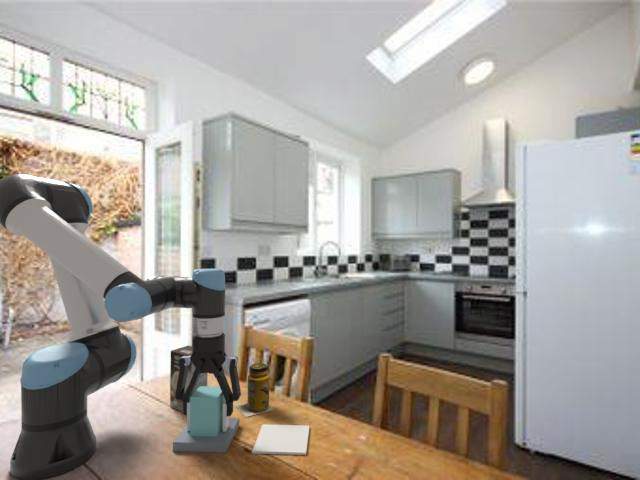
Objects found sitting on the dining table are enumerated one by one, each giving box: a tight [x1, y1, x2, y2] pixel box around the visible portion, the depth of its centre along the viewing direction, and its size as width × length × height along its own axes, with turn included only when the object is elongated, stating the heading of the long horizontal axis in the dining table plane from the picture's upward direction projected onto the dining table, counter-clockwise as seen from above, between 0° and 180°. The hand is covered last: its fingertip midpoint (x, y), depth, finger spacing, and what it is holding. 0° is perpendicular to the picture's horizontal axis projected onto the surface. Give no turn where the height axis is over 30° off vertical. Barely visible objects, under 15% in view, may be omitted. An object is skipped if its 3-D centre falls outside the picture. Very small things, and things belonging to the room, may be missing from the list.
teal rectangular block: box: [190, 385, 225, 437], centre depth 90 cm, size 6×6×9 cm
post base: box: [172, 417, 240, 454], centre depth 90 cm, size 12×12×9 cm
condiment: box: [236, 362, 275, 418], centre depth 106 cm, size 7×8×12 cm
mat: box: [251, 423, 311, 456], centre depth 89 cm, size 12×12×1 cm
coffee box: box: [169, 344, 209, 413], centre depth 106 cm, size 9×6×16 cm
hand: (208, 428), depth 90 cm, fingers closed on post base, 8 cm apart
